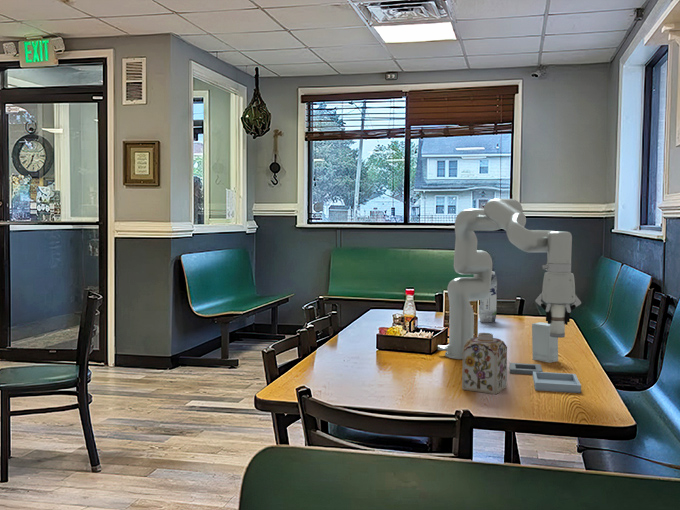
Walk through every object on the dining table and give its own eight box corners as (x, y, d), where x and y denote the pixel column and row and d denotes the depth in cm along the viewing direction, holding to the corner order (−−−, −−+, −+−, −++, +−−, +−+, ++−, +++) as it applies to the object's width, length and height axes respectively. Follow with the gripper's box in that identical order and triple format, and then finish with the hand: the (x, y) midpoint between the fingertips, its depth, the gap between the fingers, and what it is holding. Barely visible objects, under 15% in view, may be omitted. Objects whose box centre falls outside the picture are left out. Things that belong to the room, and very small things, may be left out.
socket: (509, 374, 235) (510, 369, 235) (509, 366, 248) (509, 361, 248) (542, 376, 232) (542, 371, 232) (539, 368, 245) (540, 362, 245)
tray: (535, 390, 214) (535, 382, 214) (532, 378, 230) (532, 371, 230) (580, 393, 211) (581, 385, 211) (575, 381, 226) (575, 373, 226)
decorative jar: (473, 382, 224) (474, 329, 223) (507, 387, 218) (508, 332, 217) (460, 390, 214) (461, 334, 213) (496, 395, 208) (497, 338, 207)
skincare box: (558, 362, 256) (559, 324, 255) (548, 364, 252) (549, 325, 251) (541, 358, 263) (542, 321, 262) (530, 360, 259) (531, 322, 258)
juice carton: (479, 322, 351) (480, 271, 349) (478, 319, 361) (479, 270, 359) (496, 323, 349) (497, 272, 348) (495, 320, 359) (496, 270, 358)
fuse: (550, 337, 218) (551, 300, 217) (549, 334, 222) (549, 299, 222) (565, 337, 216) (566, 301, 216) (564, 335, 221) (565, 299, 220)
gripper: (532, 269, 216) (531, 324, 217) (587, 270, 212) (586, 326, 213) (531, 267, 224) (530, 321, 225) (584, 268, 220) (583, 323, 221)
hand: (557, 323), depth 219 cm, fingers closed on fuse, 4 cm apart
